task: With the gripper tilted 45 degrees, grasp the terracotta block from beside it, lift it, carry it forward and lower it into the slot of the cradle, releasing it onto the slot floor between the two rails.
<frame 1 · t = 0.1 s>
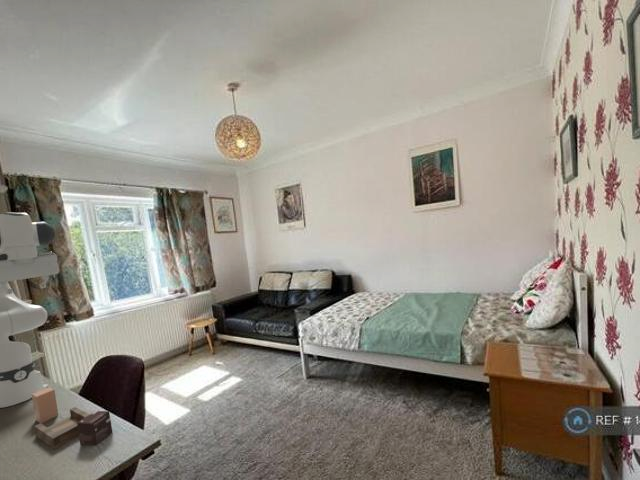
hand: (26, 290, 110), 48 cm above the table, tool pointing down, fingers open, 8 cm apart
block: (47, 417, 109), on the table
box: (96, 439, 93), on the table
cradle: (66, 431, 99), on the table
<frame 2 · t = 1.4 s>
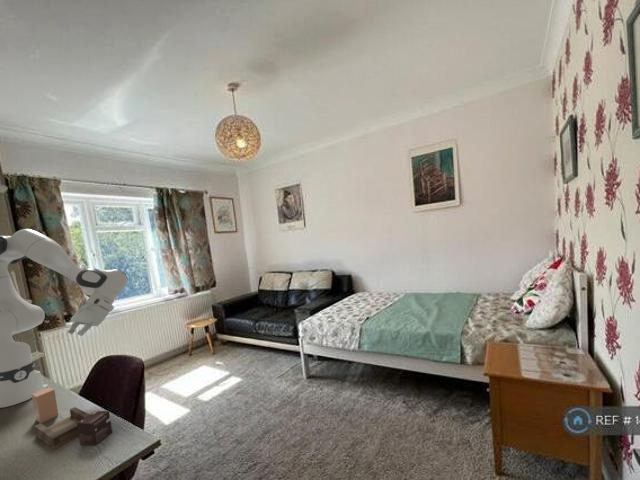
hand: (74, 334, 119), 27 cm above the table, tool tilted 45°, fingers open, 8 cm apart
nothing on the table moved.
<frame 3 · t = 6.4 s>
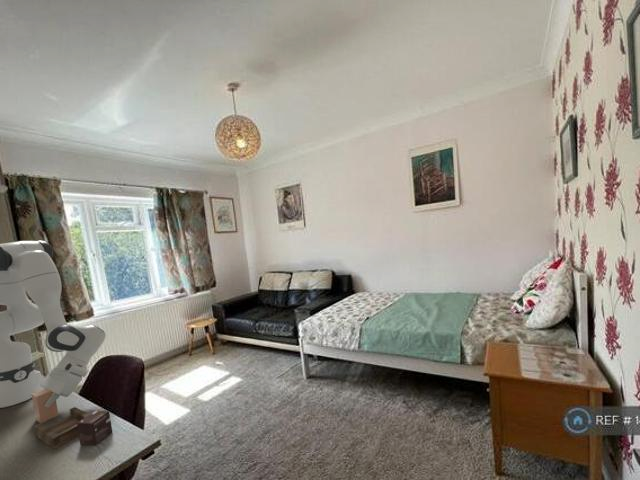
hand: (42, 404, 108), 5 cm above the table, tool tilted 45°, fingers closed on block, 5 cm apart
block: (47, 417, 109), on the table, touching gripper
everything else where it was.
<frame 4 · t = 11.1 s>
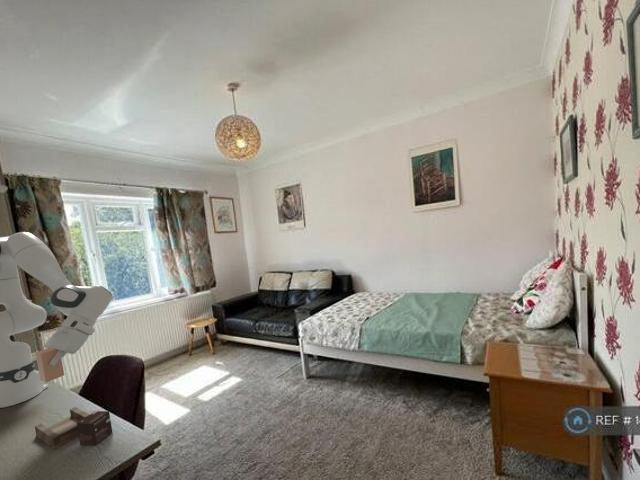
hand: (47, 363, 101), 23 cm above the table, tool tilted 45°, fingers closed on block, 5 cm apart
block: (52, 377, 102), point 17 cm above the table, touching gripper
everything else where it was.
when the fingers open (8 cm above the table, at t = 15.7 s): block drops 1 cm, resting on cradle.
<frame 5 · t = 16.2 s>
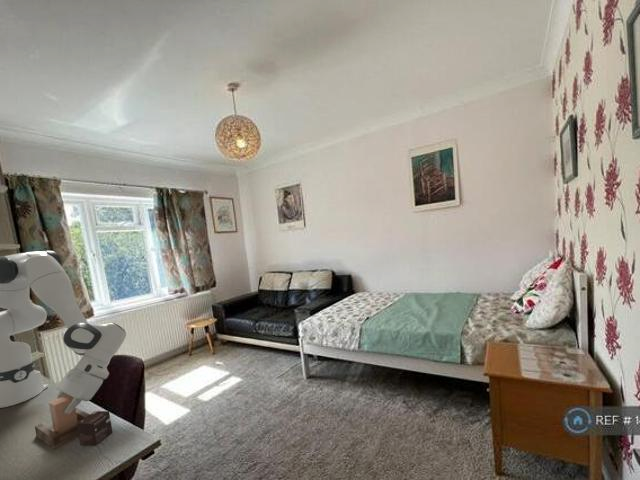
hand: (60, 410, 98), 8 cm above the table, tool tilted 45°, fingers open, 8 cm apart
block: (66, 428, 99), point 1 cm above the table, touching cradle
everything else where it was.
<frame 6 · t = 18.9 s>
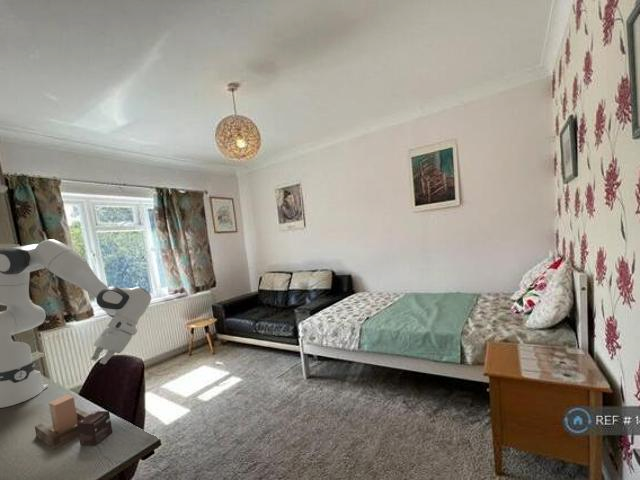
hand: (97, 361, 109), 18 cm above the table, tool tilted 45°, fingers open, 8 cm apart
nothing on the table moved.
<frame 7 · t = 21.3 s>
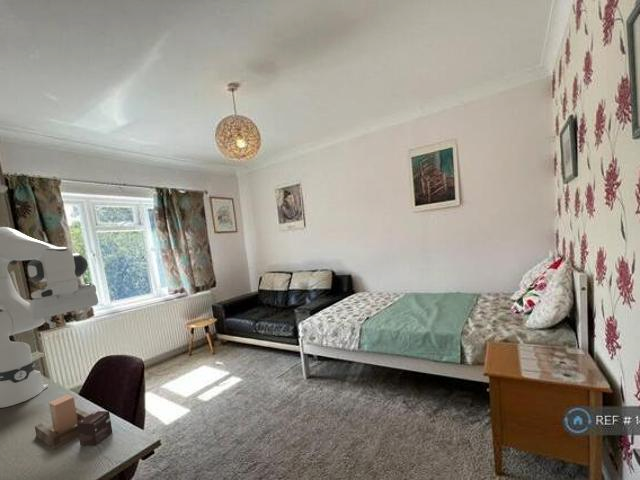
hand: (69, 323, 113), 33 cm above the table, tool pointing down, fingers open, 8 cm apart
nothing on the table moved.
at the end: block inside the target area on the cradle (0.7 cm from its centre), point 1.0 cm above the cradle's base; block tilted 0°; the gripper is holding nothing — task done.
